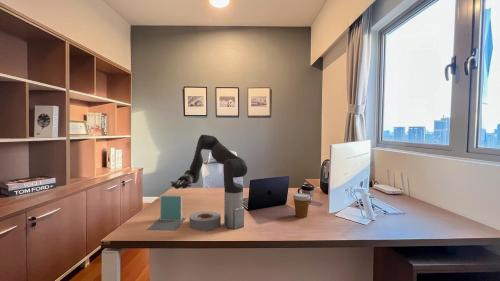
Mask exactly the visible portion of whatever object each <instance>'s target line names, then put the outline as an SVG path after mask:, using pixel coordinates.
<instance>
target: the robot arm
mask: <svg viewBox="0 0 500 281" xmlns="http://www.w3.org/2000/svg"><path fill="white" fill-rule="evenodd" d="M203 150H204V151H205V150H207V151H211V152H210V153H211V156H212V158H213V159H214V161H216V162H217V163H218V164H220V165H222V167H223V169H222V171H223V187H224V192H223V193H224V199H223V200H224V202H223V205H224V206H223V207H224V208H223V209H224V211H223V213H224V214H223V215H224V217H223V218H224V220H223V222H224V224H223V225H224V228H227V229H233V230H237V229H240V228H243V227H245V207H244V186H243V185H242V184H240V183H236V182H235V181H234V179H235V178H236V179H237V178H242V177H245V176H246V175H247V173H248V165H247V163H246V161H245V160H244V159H243V158H241V157H240V156H237V155H236V154H234V153H233V152H232V151H230V149H229V148H227V147H226V146H224V145H223V143H221V142H220V141H219V139H217V137H215V136H214V135H210V134H209V135H207V134H200V136H199V138H198V140H197V143H196V148H195V152H194V156H193V159H192V161H191V164H190V166H189V169H188V170H186V171H185V172H184V174H183V175H181V176H180V177H179V178H178V179H177V180H175V181H170V186H171V187H172V188H174V189H175V190H179V189H183V190H184V189H187V188H189V187H192V184H196V183H198V182H199V180H200V175H201V173H200V172H201V170H202V167H203V165H204V159H203V156H202V151H203Z"/></svg>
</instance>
